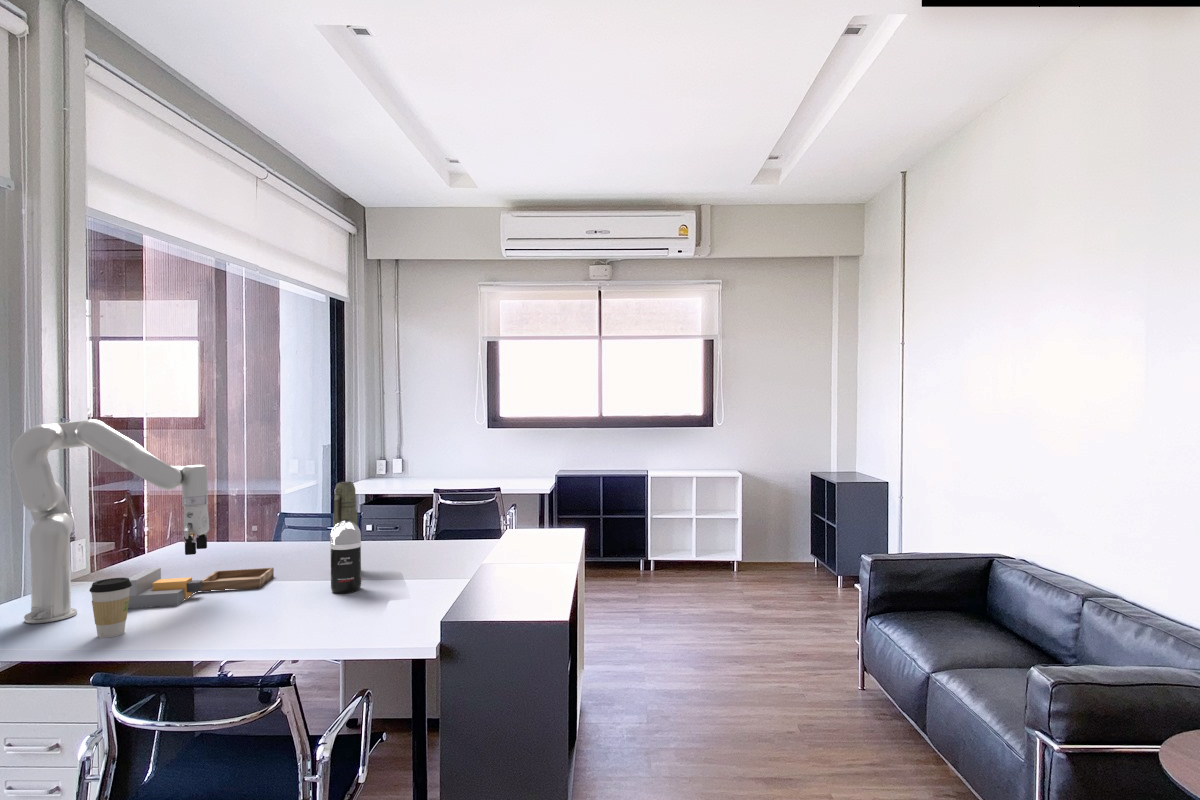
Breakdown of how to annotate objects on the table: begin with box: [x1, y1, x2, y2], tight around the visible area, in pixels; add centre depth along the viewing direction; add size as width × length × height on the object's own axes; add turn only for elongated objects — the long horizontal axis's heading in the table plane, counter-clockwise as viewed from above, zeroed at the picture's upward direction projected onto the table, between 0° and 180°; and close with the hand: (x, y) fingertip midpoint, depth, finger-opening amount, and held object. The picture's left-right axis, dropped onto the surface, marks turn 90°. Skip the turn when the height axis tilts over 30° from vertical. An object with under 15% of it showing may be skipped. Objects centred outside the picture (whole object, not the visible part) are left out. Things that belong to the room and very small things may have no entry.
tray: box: [200, 567, 275, 591], centre depth 247 cm, size 18×20×4 cm
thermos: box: [332, 481, 358, 528], centre depth 264 cm, size 9×12×35 cm
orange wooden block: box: [153, 576, 203, 600], centre depth 229 cm, size 6×14×6 cm, turn 102°
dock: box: [128, 567, 199, 609], centre depth 228 cm, size 18×16×9 cm
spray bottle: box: [329, 519, 362, 594], centre depth 236 cm, size 10×10×25 cm
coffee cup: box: [89, 577, 132, 639], centre depth 192 cm, size 10×10×15 cm
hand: (196, 551), depth 230 cm, fingers open, 9 cm apart
